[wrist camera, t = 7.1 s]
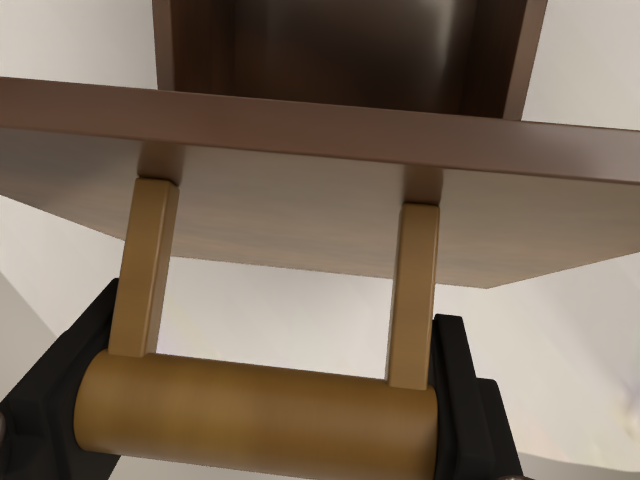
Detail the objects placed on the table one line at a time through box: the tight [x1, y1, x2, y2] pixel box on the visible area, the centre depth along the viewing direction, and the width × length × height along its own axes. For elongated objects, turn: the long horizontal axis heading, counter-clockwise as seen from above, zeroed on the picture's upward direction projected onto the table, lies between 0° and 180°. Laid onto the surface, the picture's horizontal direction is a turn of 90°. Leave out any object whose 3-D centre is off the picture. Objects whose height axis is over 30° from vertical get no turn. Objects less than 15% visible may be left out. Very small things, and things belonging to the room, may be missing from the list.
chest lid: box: [0, 77, 640, 480], centre depth 16 cm, size 18×16×6 cm
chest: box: [152, 0, 548, 120], centre depth 28 cm, size 18×16×12 cm
